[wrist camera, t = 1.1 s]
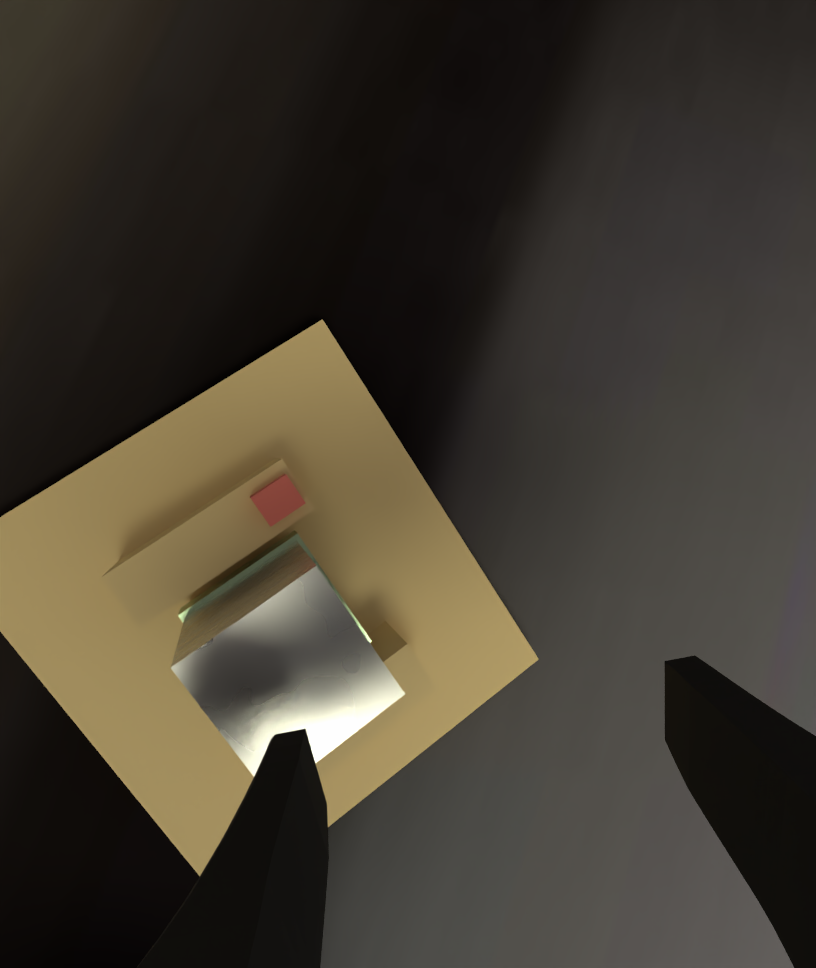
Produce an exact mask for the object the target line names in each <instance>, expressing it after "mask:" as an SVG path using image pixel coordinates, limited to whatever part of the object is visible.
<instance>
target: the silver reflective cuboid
mask: <svg viewBox="0 0 816 968" xmlns="http://www.w3.org/2000/svg"><path fill="white" fill-rule="evenodd" d="M178 616H179V618H180V619H181V620H182V622H183V626H182V629H181V633H180V636H179V640H178V643H177V647H176V650H175V654H174V657H173V661H172V664H171V669H172V670H173V672H174V673H175V674H176V676H177V677H178V678H179V680H180V681H181V682H182V684H183V685H184V686H185V687H186V689H187V690H188V691H189V693H190V694H191V695H192V697H193V698H194V699H195V700H196V702H197V703H198V704H199V706H200V707H201V708H202V710H203V711H204V712H205V714H206V715H207V716H208V717H209V719H210V720H211V721H212V723H213V724H214V725H215V727H216V728H217V729H218V731H219V732H220V733H221V734H222V736H223V737H224V738H225V740H226V741H227V742H228V744H229V745H230V746H231V748H232V749H233V750H234V751H235V753H236V754H237V755H238V757H239V758H240V759H241V761H242V762H243V763H244V764H245V766H246V767H247V768H248V770H249V771H250V772H251V774H252V775H253V776H255V774H256V772H257V769H258V767H259V765H260V763H261V761H262V758H263V756H264V754H265V752H266V749H267V747H268V745H269V743H270V740H271V739H272V738H273V736H274V735H275V734H279V733H285V732H290V731H295V730H301V729H306V732H307V735H308V739H309V742H310V746H311V749H312V753H313V756H314V760H315V763H316V762H318V761H319V760H320V759H322V758H323V757H324V756H325V755H327V754H328V753H329V752H331V751H332V750H333V749H335V748H336V747H337V746H338V745H340V744H341V743H342V742H344V741H345V740H346V739H347V738H349V737H350V736H351V735H353V734H354V733H355V732H357V731H358V730H359V729H360V728H362V727H363V726H364V725H366V724H367V723H368V722H370V721H371V720H372V719H373V718H375V717H376V716H377V715H379V714H380V713H381V712H383V711H384V710H385V709H386V708H388V707H389V706H390V705H392V704H393V703H394V702H396V701H397V700H398V699H399V698H401V697H402V696H403V695H405V693H404V692H403V690H402V689H401V687H400V686H399V684H398V683H397V682H396V680H395V679H394V677H393V676H392V674H391V673H390V671H389V670H388V669H387V667H386V666H385V664H384V663H383V661H382V660H381V658H380V657H379V655H378V654H377V653H376V651H375V650H374V648H373V647H372V645H371V644H370V642H372V641H371V639H370V638H369V636H368V635H367V633H366V632H365V631H364V629H363V628H362V626H361V625H360V623H359V622H358V620H357V619H356V617H355V616H354V615H353V613H352V612H351V610H350V609H349V607H348V606H347V604H346V603H345V602H344V600H343V599H342V597H341V596H340V594H339V593H338V591H337V590H336V588H335V587H334V586H333V584H332V583H331V581H330V580H329V578H328V577H327V575H326V574H325V572H324V571H323V570H322V568H321V567H320V565H319V564H318V562H317V561H316V559H315V558H314V557H313V555H312V554H311V552H310V551H309V549H308V548H307V546H306V545H305V543H304V542H303V541H302V539H301V538H300V536H299V535H298V533H297V532H296V531H295V530H294V531H293V532H291V533H290V534H288V535H287V536H285V537H284V538H282V539H281V540H279V541H278V542H276V543H275V544H274V545H272V546H271V547H269V548H268V549H266V550H265V551H263V552H262V553H260V554H259V555H257V556H256V557H255V558H253V559H252V560H250V561H249V562H247V563H246V564H244V565H243V566H241V567H240V568H238V569H237V570H235V571H234V572H233V573H231V574H230V575H228V576H227V577H225V578H224V579H222V580H221V581H219V582H218V583H216V584H215V585H213V586H212V587H211V588H209V589H208V590H206V591H205V592H203V593H202V594H200V595H199V596H197V597H196V598H194V599H193V600H191V601H190V602H189V603H187V604H186V605H184V606H183V607H181V608H180V610H179V613H178Z"/></svg>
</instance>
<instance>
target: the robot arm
mask: <svg viewBox="0 0 816 968" xmlns="http://www.w3.org/2000/svg"><path fill="white" fill-rule="evenodd" d="M665 741H666V743H667V745H668V747H669V750H670V752H671V754H672V756H673V758H674V760H675V763H676V765H677V767H678V769H679V771H680V773H681V775H682V777H683V779H684V781H685V783H686V785H687V787H688V789H689V791H690V792H691V794H692V796H693V797H694V799H695V801H696V802H697V804H698V806H699V807H700V809H701V810H702V812H703V814H704V815H705V817H706V818H707V820H708V822H709V823H710V825H711V826H712V828H713V830H714V831H715V833H716V834H717V836H718V838H719V839H720V841H721V842H722V844H723V846H724V847H725V849H726V850H727V852H728V853H729V855H730V857H731V858H732V860H733V861H734V863H735V865H736V866H737V868H738V869H739V871H740V872H741V874H742V876H743V877H744V879H745V880H746V882H747V884H748V885H749V887H750V888H751V890H752V892H753V893H754V895H755V896H756V898H757V899H758V901H759V903H760V905H761V906H762V908H763V910H764V911H765V913H766V915H767V917H768V918H769V920H770V922H771V924H772V925H773V927H774V929H775V931H776V933H777V935H778V937H779V939H780V941H781V943H782V944H783V946H784V948H785V950H786V952H787V954H788V956H789V958H790V960H791V962H792V964H793V966H794V968H816V736H815V735H813V734H811V733H810V732H808V731H806V730H805V729H803V728H802V727H800V726H798V725H797V724H795V723H794V722H792V721H791V720H789V719H787V718H786V717H784V716H783V715H781V714H780V713H778V712H777V711H775V710H774V709H772V708H771V707H769V706H768V705H766V704H765V703H763V702H762V701H760V700H759V699H757V698H756V697H754V696H753V695H751V694H750V693H748V692H747V691H745V690H744V689H743V688H741V687H740V686H738V685H737V684H735V683H734V682H732V681H731V680H729V679H728V678H727V677H725V676H724V675H722V674H721V673H719V672H718V671H717V670H715V669H714V668H712V667H711V666H709V665H708V664H706V663H705V662H704V661H702V660H701V659H699V658H698V657H696V656H690V657H685V658H680V659H674V660H669V661H665ZM328 859H329V854H328V818H327V802H326V799H325V795H324V791H323V788H322V784H321V781H320V777H319V774H318V770H317V767H316V763H315V760H314V756H313V753H312V749H311V746H310V742H309V739H308V735H307V732H306V729H301V730H295V731H290V732H285V733H279V734H275V735H274V736H273V738H272V739H271V740H270V743H269V745H268V747H267V749H266V752H265V754H264V756H263V758H262V761H261V763H260V765H259V767H258V769H257V772H256V774H255V776H254V778H253V780H252V782H251V784H250V786H249V788H248V790H247V792H246V794H245V796H244V798H243V800H242V802H241V804H240V806H239V808H238V810H237V812H236V814H235V815H234V817H233V819H232V821H231V823H230V825H229V827H228V829H227V831H226V832H225V834H224V836H223V838H222V840H221V841H220V843H219V845H218V847H217V848H216V850H215V852H214V853H213V855H212V857H211V858H210V860H209V862H208V864H207V865H206V867H205V869H204V870H203V872H202V874H201V875H200V877H199V879H198V880H197V882H196V883H195V885H194V887H193V888H192V890H191V891H190V893H189V894H188V896H187V898H186V899H185V901H184V902H183V904H182V905H181V907H180V908H179V910H178V911H177V912H176V914H175V915H174V917H173V918H172V920H171V921H170V923H169V924H168V926H167V927H166V928H165V930H164V931H163V933H162V934H161V935H160V937H159V938H158V940H157V941H156V942H155V944H154V945H153V946H152V948H151V949H150V950H149V952H148V953H147V954H146V956H145V957H144V958H143V960H142V961H141V962H140V964H139V965H138V966H137V968H320V963H321V950H322V938H323V925H324V913H325V900H326V887H327V874H328Z"/></svg>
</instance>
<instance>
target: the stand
mask: <svg viewBox="0 0 816 968" xmlns="http://www.w3.org/2000/svg"><path fill="white" fill-rule="evenodd" d="M294 530H295V531H296V532H297V533H298V535H299V536H300V538H301V539H302V541H303V542H304V543H305V545H306V546H307V548H308V549H309V551H310V552H311V554H312V555H313V557H314V558H315V559H316V561H317V562H318V564H319V565H320V567H321V568H322V570H323V571H324V572H325V574H326V575H327V577H328V578H329V580H330V581H331V583H332V584H333V586H334V587H335V588H336V590H337V591H338V593H339V594H340V596H341V597H342V599H343V600H344V602H345V603H346V604H347V606H348V607H349V609H350V610H351V612H352V613H353V615H354V616H355V617H356V619H357V620H358V622H359V623H360V625H361V626H362V628H363V629H364V631H365V632H366V633H367V635H368V636H369V638H370V639H371V641H372V642H370V644H371V645H372V647H373V648H374V650H375V651H376V653H377V654H378V655H379V657H380V658H381V660H382V661H383V663H384V664H385V666H386V667H387V669H388V670H389V671H390V673H391V674H392V676H393V677H394V679H395V680H396V682H397V683H398V684H399V686H400V687H401V689H402V690H403V692H404V693H405V695H403V696H402V697H401V698H399V699H398V700H397V701H396V702H394V703H393V704H392V705H390V706H389V707H388V708H386V709H385V710H384V711H383V712H381V713H380V714H379V715H377V716H376V717H375V718H373V719H372V720H371V721H370V722H368V723H367V724H366V725H364V726H363V727H362V728H360V729H359V730H358V731H357V732H355V733H354V734H353V735H351V736H350V737H349V738H347V739H346V740H345V741H344V742H342V743H341V744H340V745H338V746H337V747H336V748H335V749H333V750H332V751H331V752H329V753H328V754H327V755H325V756H324V757H323V758H322V759H320V760H319V761H318V762H316V767H317V770H318V774H319V777H320V781H321V784H322V788H323V791H324V795H325V799H326V802H327V818H328V827H329V826H330V825H331V824H333V823H334V822H335V821H336V820H338V819H339V818H340V817H341V816H343V815H344V814H345V813H346V812H348V811H349V810H350V809H351V808H353V807H354V806H355V805H356V804H358V803H359V802H360V801H361V800H363V799H364V798H365V797H366V796H368V795H369V794H370V793H371V792H373V791H374V790H375V789H376V788H378V787H379V786H380V785H381V784H383V783H384V782H385V781H386V780H388V779H389V778H390V777H392V776H393V775H394V774H395V773H397V772H398V771H399V770H400V769H402V768H403V767H404V766H405V765H407V764H408V763H409V762H410V761H412V760H413V759H414V758H415V757H417V756H418V755H419V754H420V753H422V752H423V751H424V750H425V749H427V748H428V747H429V746H430V745H432V744H433V743H434V742H435V741H437V740H438V739H439V738H440V737H442V736H443V735H444V734H445V733H447V732H448V731H449V730H451V729H452V728H453V727H454V726H456V725H457V724H458V723H459V722H461V721H462V720H463V719H464V718H466V717H467V716H468V715H469V714H471V713H472V712H473V711H474V710H476V709H477V708H478V707H479V706H481V705H482V704H483V703H484V702H486V701H487V700H488V699H489V698H491V697H492V696H493V695H494V694H496V693H497V692H498V691H499V690H501V689H502V688H503V687H504V686H506V685H507V684H508V683H509V682H511V681H512V680H513V679H515V678H516V677H517V676H518V675H520V674H521V673H522V672H523V671H525V670H526V669H527V668H528V667H530V666H531V665H532V664H533V663H535V662H536V661H537V660H538V658H537V656H536V654H535V653H534V651H533V650H532V648H531V647H530V645H529V643H528V642H527V640H526V639H525V637H524V636H523V634H522V632H521V631H520V629H519V628H518V626H517V625H516V623H515V621H514V620H513V618H512V617H511V615H510V613H509V612H508V610H507V609H506V607H505V606H504V604H503V602H502V601H501V599H500V598H499V596H498V595H497V593H496V591H495V590H494V588H493V587H492V585H491V584H490V582H489V580H488V579H487V577H486V576H485V574H484V573H483V571H482V569H481V568H480V566H479V565H478V563H477V562H476V560H475V558H474V557H473V555H472V554H471V552H470V551H469V549H468V547H467V546H466V544H465V543H464V541H463V540H462V538H461V536H460V535H459V533H458V532H457V530H456V529H455V527H454V525H453V524H452V522H451V521H450V519H449V518H448V516H447V514H446V513H445V511H444V510H443V508H442V507H441V505H440V503H439V502H438V500H437V499H436V497H435V496H434V494H433V492H432V491H431V489H430V488H429V486H428V484H427V483H426V481H425V480H424V478H423V477H422V475H421V473H420V472H419V470H418V469H417V467H416V466H415V464H414V462H413V461H412V459H411V458H410V456H409V455H408V453H407V451H406V450H405V448H404V447H403V445H402V444H401V442H400V440H399V439H398V437H397V436H396V434H395V433H394V431H393V429H392V428H391V426H390V425H389V423H388V422H387V420H386V418H385V417H384V415H383V414H382V412H381V411H380V409H379V407H378V406H377V404H376V403H375V401H374V400H373V398H372V396H371V395H370V393H369V392H368V390H367V389H366V387H365V385H364V384H363V382H362V381H361V379H360V378H359V376H358V374H357V373H356V371H355V370H354V368H353V367H352V365H351V363H350V362H349V360H348V359H347V357H346V356H345V354H344V352H343V351H342V349H341V348H340V346H339V344H338V343H337V341H336V340H335V338H334V337H333V335H332V333H331V332H330V330H329V329H328V327H327V326H326V324H325V322H324V321H323V319H322V320H321V321H319V322H317V323H316V324H314V325H312V326H311V327H309V328H308V329H306V330H304V331H303V332H301V333H299V334H298V335H296V336H295V337H293V338H291V339H290V340H288V341H286V342H285V343H283V344H281V345H280V346H278V347H277V348H275V349H273V350H272V351H270V352H268V353H267V354H265V355H264V356H262V357H260V358H259V359H257V360H255V361H254V362H252V363H251V364H249V365H247V366H246V367H244V368H242V369H241V370H239V371H237V372H236V373H234V374H233V375H231V376H229V377H228V378H226V379H224V380H223V381H221V382H220V383H218V384H216V385H215V386H213V387H211V388H210V389H208V390H207V391H205V392H203V393H202V394H200V395H198V396H197V397H195V398H194V399H192V400H190V401H189V402H187V403H185V404H184V405H182V406H180V407H179V408H177V409H176V410H174V411H172V412H171V413H169V414H167V415H166V416H164V417H163V418H161V419H159V420H158V421H156V422H154V423H153V424H151V425H150V426H148V427H146V428H145V429H143V430H141V431H140V432H138V433H136V434H135V435H133V436H132V437H130V438H128V439H127V440H125V441H123V442H122V443H120V444H119V445H117V446H115V447H114V448H112V449H110V450H109V451H107V452H106V453H104V454H102V455H101V456H99V457H97V458H96V459H94V460H93V461H91V462H89V463H88V464H86V465H84V466H83V467H81V468H79V469H78V470H76V471H75V472H73V473H71V474H70V475H68V476H66V477H65V478H63V479H62V480H60V481H58V482H57V483H55V484H53V485H52V486H50V487H49V488H47V489H45V490H44V491H42V492H40V493H39V494H37V495H36V496H34V497H32V498H31V499H29V500H27V501H26V502H24V503H22V504H21V505H19V506H18V507H16V508H14V509H13V510H11V511H9V512H8V513H6V514H5V515H3V516H1V517H0V632H1V633H2V634H3V635H4V637H5V638H6V639H7V640H8V641H9V643H10V644H11V645H12V646H13V648H14V649H15V650H16V651H17V652H18V654H19V655H20V656H21V657H22V659H23V660H24V661H25V662H26V664H27V665H28V666H29V667H30V668H31V670H32V671H33V672H34V673H35V675H36V676H37V677H38V678H39V679H40V681H41V682H42V683H43V684H44V686H45V687H46V688H47V689H48V691H49V692H50V693H51V694H52V695H53V697H54V698H55V699H56V700H57V702H58V703H59V704H60V705H61V706H62V708H63V709H64V710H65V711H66V713H67V714H68V715H69V716H70V718H71V719H72V720H73V721H74V722H75V724H76V725H77V726H78V727H79V729H80V730H81V731H82V732H83V734H84V735H85V736H86V737H87V738H88V740H89V741H90V742H91V743H92V745H93V746H94V747H95V748H96V749H97V751H98V752H99V753H100V754H101V756H102V757H103V758H104V759H105V761H106V762H107V763H108V764H109V765H110V767H111V768H112V769H113V770H114V772H115V773H116V774H117V775H118V776H119V778H120V779H121V780H122V781H123V783H124V784H125V785H126V786H127V788H128V789H129V790H130V791H131V792H132V794H133V795H134V796H135V797H136V799H137V800H138V801H139V802H140V803H141V805H142V806H143V807H144V808H145V810H146V811H147V812H148V813H149V815H150V816H151V817H152V818H153V819H154V821H155V822H156V823H157V824H158V826H159V827H160V828H161V829H162V830H163V832H164V833H165V834H166V835H167V837H168V838H169V839H170V840H171V842H172V843H173V844H174V845H175V846H176V848H177V849H178V850H179V851H180V853H181V854H182V855H183V856H184V857H185V859H186V860H187V861H188V862H189V864H190V865H191V866H192V867H193V869H194V870H195V871H196V872H197V873H198V875H199V876H200V875H201V874H202V872H203V870H204V869H205V867H206V865H207V864H208V862H209V860H210V858H211V857H212V855H213V853H214V852H215V850H216V848H217V847H218V845H219V843H220V841H221V840H222V838H223V836H224V834H225V832H226V831H227V829H228V827H229V825H230V823H231V821H232V819H233V817H234V815H235V814H236V812H237V810H238V808H239V806H240V804H241V802H242V800H243V798H244V796H245V794H246V792H247V790H248V788H249V786H250V784H251V782H252V780H253V778H254V776H253V775H252V774H251V772H250V771H249V770H248V768H247V767H246V766H245V764H244V763H243V762H242V761H241V759H240V758H239V757H238V755H237V754H236V753H235V751H234V750H233V749H232V748H231V746H230V745H229V744H228V742H227V741H226V740H225V738H224V737H223V736H222V734H221V733H220V732H219V731H218V729H217V728H216V727H215V725H214V724H213V723H212V721H211V720H210V719H209V717H208V716H207V715H206V714H205V712H204V711H203V710H202V708H201V707H200V706H199V704H198V703H197V702H196V700H195V699H194V698H193V697H192V695H191V694H190V693H189V691H188V690H187V689H186V687H185V686H184V685H183V684H182V682H181V681H180V680H179V678H178V677H177V676H176V674H175V673H174V672H173V670H172V669H171V664H172V661H173V657H174V654H175V650H176V647H177V643H178V640H179V636H180V633H181V629H182V626H183V622H182V620H181V619H180V618H179V616H178V613H179V610H180V608H181V607H183V606H184V605H186V604H187V603H189V602H190V601H191V600H193V599H194V598H196V597H197V596H199V595H200V594H202V593H203V592H205V591H206V590H208V589H209V588H211V587H212V586H213V585H215V584H216V583H218V582H219V581H221V580H222V579H224V578H225V577H227V576H228V575H230V574H231V573H233V572H234V571H235V570H237V569H238V568H240V567H241V566H243V565H244V564H246V563H247V562H249V561H250V560H252V559H253V558H255V557H256V556H257V555H259V554H260V553H262V552H263V551H265V550H266V549H268V548H269V547H271V546H272V545H274V544H275V543H276V542H278V541H279V540H281V539H282V538H284V537H285V536H287V535H288V534H290V533H291V532H293V531H294Z"/></svg>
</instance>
